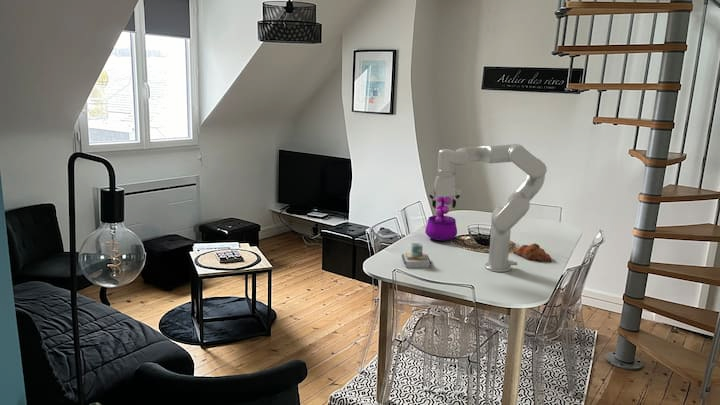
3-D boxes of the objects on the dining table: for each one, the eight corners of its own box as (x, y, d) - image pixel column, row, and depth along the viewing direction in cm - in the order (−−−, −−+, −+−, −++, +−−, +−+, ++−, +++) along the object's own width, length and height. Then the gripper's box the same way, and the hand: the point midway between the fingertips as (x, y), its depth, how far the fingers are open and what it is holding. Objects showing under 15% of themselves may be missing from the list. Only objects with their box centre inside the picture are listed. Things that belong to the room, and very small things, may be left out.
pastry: (519, 262, 278) (521, 247, 276) (512, 252, 293) (513, 238, 291) (551, 262, 278) (553, 248, 276) (542, 253, 293) (544, 239, 291)
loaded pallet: (425, 255, 274) (425, 243, 273) (426, 259, 268) (427, 246, 267) (406, 255, 274) (406, 243, 272) (407, 259, 268) (408, 246, 266)
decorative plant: (455, 235, 323) (458, 187, 316) (457, 244, 305) (461, 193, 298) (424, 233, 324) (426, 186, 317) (425, 242, 306) (427, 192, 300)
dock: (427, 259, 278) (427, 254, 277) (430, 267, 266) (431, 261, 266) (401, 259, 277) (401, 253, 277) (404, 267, 266) (404, 261, 265)
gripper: (460, 172, 266) (459, 205, 269) (426, 173, 265) (425, 206, 269) (464, 175, 258) (462, 209, 262) (429, 175, 258) (428, 209, 261)
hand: (443, 207), depth 265 cm, fingers open, 9 cm apart
